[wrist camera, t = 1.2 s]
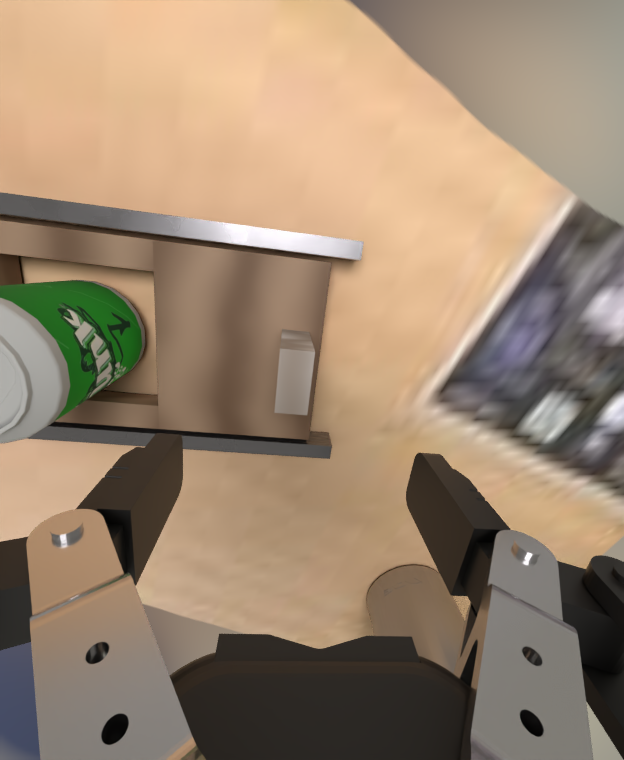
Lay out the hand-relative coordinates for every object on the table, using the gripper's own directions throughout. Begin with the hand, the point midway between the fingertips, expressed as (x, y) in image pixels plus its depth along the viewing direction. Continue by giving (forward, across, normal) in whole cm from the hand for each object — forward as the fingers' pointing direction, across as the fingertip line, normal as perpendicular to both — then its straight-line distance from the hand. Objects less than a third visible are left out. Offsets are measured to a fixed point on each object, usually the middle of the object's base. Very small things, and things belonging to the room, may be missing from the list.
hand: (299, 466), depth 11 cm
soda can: (+17, +15, 0) cm, 23 cm away
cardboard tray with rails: (+17, +11, 0) cm, 20 cm away
